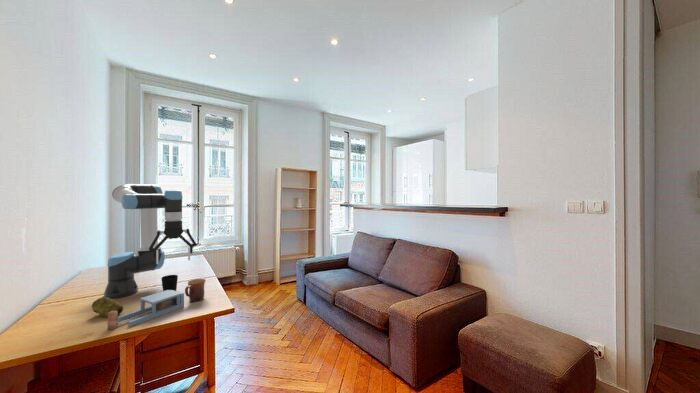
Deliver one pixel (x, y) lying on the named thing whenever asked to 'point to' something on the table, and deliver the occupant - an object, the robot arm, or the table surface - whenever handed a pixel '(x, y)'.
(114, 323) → the wooden mallet
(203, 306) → the table surface
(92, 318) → the table surface
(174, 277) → the cup
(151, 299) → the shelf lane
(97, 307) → the dirty green tuber
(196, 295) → the mug
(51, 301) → the table surface
